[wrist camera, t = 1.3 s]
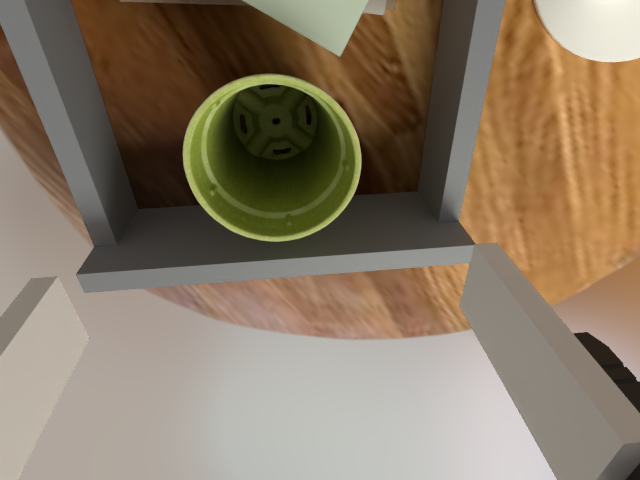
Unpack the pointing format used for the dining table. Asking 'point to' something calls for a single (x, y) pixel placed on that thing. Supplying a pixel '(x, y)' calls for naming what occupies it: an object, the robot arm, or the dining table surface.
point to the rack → (194, 221)
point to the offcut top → (316, 18)
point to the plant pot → (272, 158)
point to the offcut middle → (375, 7)
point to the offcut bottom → (229, 2)
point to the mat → (593, 27)
